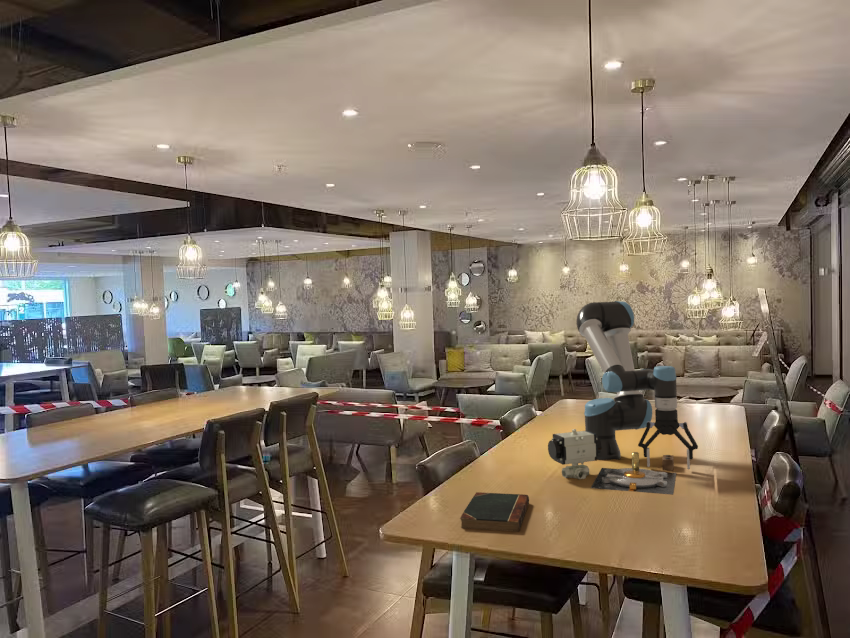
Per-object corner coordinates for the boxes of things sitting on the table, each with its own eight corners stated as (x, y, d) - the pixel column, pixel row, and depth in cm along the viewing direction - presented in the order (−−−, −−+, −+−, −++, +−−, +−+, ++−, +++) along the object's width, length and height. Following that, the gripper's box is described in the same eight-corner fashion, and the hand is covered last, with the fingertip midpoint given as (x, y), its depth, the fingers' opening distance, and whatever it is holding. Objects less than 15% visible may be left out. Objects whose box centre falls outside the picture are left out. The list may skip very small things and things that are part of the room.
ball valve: (559, 484, 224) (557, 434, 223) (548, 478, 232) (546, 429, 231) (605, 478, 228) (603, 429, 228) (592, 472, 237) (591, 425, 236)
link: (662, 473, 233) (662, 458, 233) (663, 468, 240) (663, 454, 239) (673, 473, 232) (672, 459, 232) (673, 468, 238) (673, 454, 238)
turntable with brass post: (647, 493, 207) (647, 470, 206) (588, 479, 225) (587, 458, 224) (682, 479, 220) (681, 458, 219) (623, 467, 238) (622, 447, 238)
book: (476, 502, 210) (459, 530, 186) (475, 491, 210) (459, 517, 186) (529, 505, 205) (519, 533, 181) (529, 494, 205) (519, 521, 181)
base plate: (590, 490, 215) (590, 487, 215) (601, 470, 239) (601, 467, 239) (673, 497, 205) (673, 494, 205) (676, 475, 229) (676, 472, 229)
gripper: (629, 409, 234) (631, 467, 234) (703, 411, 224) (705, 471, 224) (631, 406, 240) (633, 462, 241) (703, 407, 230) (705, 466, 231)
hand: (668, 467), depth 232 cm, fingers open, 13 cm apart
